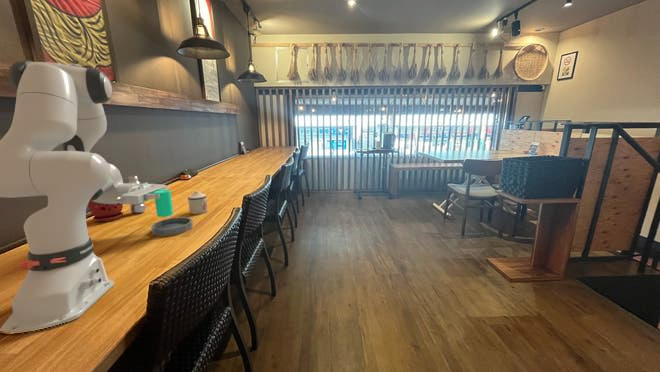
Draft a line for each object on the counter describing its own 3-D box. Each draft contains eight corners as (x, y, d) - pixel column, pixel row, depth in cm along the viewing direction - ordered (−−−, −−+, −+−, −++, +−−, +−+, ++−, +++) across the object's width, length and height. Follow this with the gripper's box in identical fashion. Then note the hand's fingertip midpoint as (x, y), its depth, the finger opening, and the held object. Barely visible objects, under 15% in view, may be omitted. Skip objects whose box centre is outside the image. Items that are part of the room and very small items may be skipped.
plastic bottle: (133, 211, 142) (127, 175, 137) (148, 210, 144) (142, 175, 139) (128, 215, 136) (122, 177, 131) (143, 214, 138) (137, 177, 133)
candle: (165, 217, 109) (161, 189, 106) (153, 216, 110) (149, 188, 107) (176, 213, 114) (173, 186, 112) (165, 211, 116) (162, 185, 113)
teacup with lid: (207, 213, 139) (205, 192, 137) (188, 215, 136) (186, 194, 133) (208, 207, 150) (206, 187, 147) (190, 209, 146) (187, 189, 144)
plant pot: (131, 215, 135) (128, 193, 132) (104, 224, 123) (100, 200, 120) (112, 213, 138) (108, 192, 136) (84, 222, 126) (79, 198, 123)
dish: (190, 233, 113) (189, 226, 112) (148, 238, 107) (147, 231, 107) (194, 221, 127) (193, 215, 126) (157, 225, 121) (156, 219, 121)
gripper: (110, 192, 99) (147, 193, 99) (146, 181, 119) (177, 181, 119) (113, 208, 100) (149, 208, 101) (148, 194, 120) (178, 195, 121)
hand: (164, 194), depth 110 cm, fingers closed on candle, 5 cm apart
